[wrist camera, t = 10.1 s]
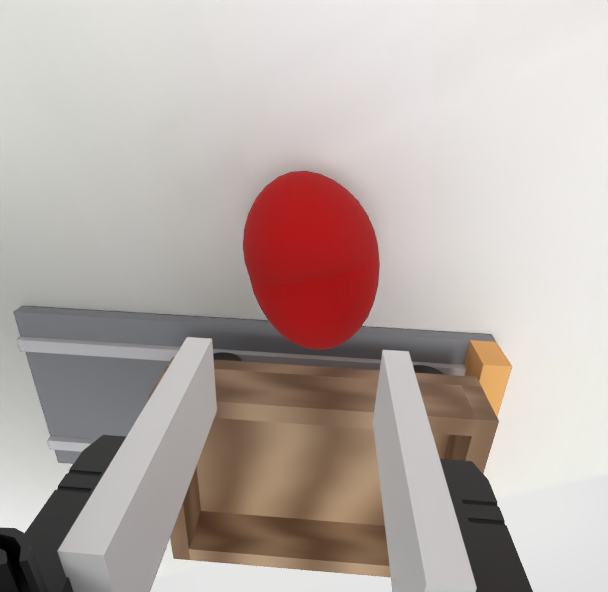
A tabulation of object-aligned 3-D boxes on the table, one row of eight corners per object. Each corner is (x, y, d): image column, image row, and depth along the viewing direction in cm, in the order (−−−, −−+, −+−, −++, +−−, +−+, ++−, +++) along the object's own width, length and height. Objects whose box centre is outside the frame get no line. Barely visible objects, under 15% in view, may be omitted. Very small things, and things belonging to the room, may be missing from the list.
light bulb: (379, 280, 29) (399, 362, 20) (281, 296, 30) (259, 382, 21) (357, 140, 26) (370, 167, 17) (246, 165, 27) (202, 202, 18)
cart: (201, 477, 36) (173, 558, 30) (187, 333, 30) (147, 396, 24) (429, 495, 36) (450, 582, 29) (463, 350, 29) (499, 421, 23)
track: (64, 453, 39) (37, 490, 35) (22, 305, 32) (-17, 332, 29) (452, 483, 37) (465, 525, 34) (491, 334, 31) (512, 366, 27)
